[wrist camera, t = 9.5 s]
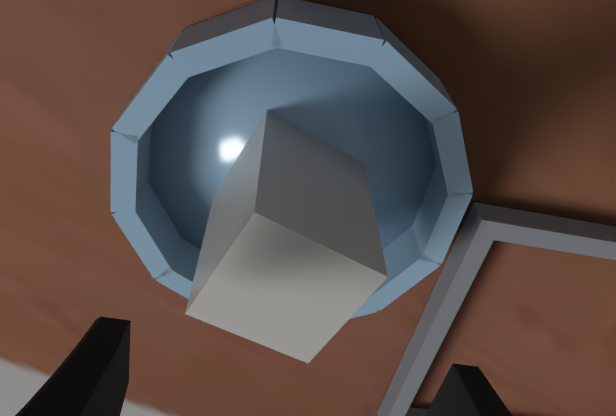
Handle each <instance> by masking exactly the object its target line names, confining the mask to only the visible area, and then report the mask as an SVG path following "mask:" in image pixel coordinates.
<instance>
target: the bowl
mask: <svg viewBox="0 0 616 416" xmlns="http://www.w3.org/2000/svg"><path fill="white" fill-rule="evenodd" d="M267 110H268V111H270V112H272V113H274V114H275V115H277V116H279V117H281V118H283V119H284V120H286V121H288V122H290V123H292V124H293V125H295V126H297V127H299V128H301V129H302V130H304V131H306V132H308V133H310V134H311V135H313V136H315V137H317V138H319V139H320V140H322V141H324V142H326V143H328V144H329V145H331V146H333V147H335V148H337V149H338V150H340V151H342V152H344V153H346V154H348V155H349V156H351V157H353V158H355V159H357V160H358V161H360V162H362V163H364V164H365V166H366V171H367V176H368V181H369V186H370V191H371V196H372V201H373V206H374V211H375V216H376V220H377V225H378V230H379V235H380V240H381V245H382V250H383V255H384V260H385V265H386V270H387V275H388V277H387V278H386V280H385V281H384V282H383V283H382V284H381V285H380V286H379V287H378V288H377V289H376V290H375V291H374V293H373V294H372V295H371V296H370V297H369V298H368V299H367V300H366V301H365V302H364V303H363V304H362V306H361V307H360V308H359V309H358V310H357V311H356V312H355V313H354V314H353V315H352V316H351V317H350V318H354V317H359V316H363V315H367V314H371V313H375V312H378V311H377V309H378V310H382V309H383V308H384V307H386V306H387V305H388V304H390V303H391V302H392V301H394V300H395V299H396V298H398V297H399V296H400V295H402V294H403V293H404V292H406V291H407V290H408V289H410V288H411V287H412V286H414V285H415V284H416V283H418V282H419V281H420V280H422V279H423V278H424V277H426V276H427V275H428V274H430V273H431V272H432V271H434V270H435V269H436V268H438V267H439V266H440V264H439V263H441V264H442V262H443V260H444V258H445V255H446V253H447V251H448V249H449V246H450V244H451V242H452V240H453V238H454V235H455V233H456V231H457V229H458V227H459V224H460V222H461V220H462V218H463V215H464V213H465V211H466V209H467V207H468V204H469V202H470V200H471V198H472V196H473V194H472V192H473V188H472V183H471V177H470V172H469V167H468V161H467V156H466V150H465V145H464V140H463V134H462V129H461V123H460V118H459V112H458V110H457V108H456V106H455V105H454V103H453V101H452V100H451V98H450V96H449V95H448V93H447V91H446V89H445V88H444V86H443V84H442V83H441V81H440V79H439V78H438V77H437V76H436V75H435V74H434V73H433V72H432V71H431V70H430V69H429V68H428V67H427V66H426V65H425V64H424V63H423V62H422V61H421V60H420V59H419V58H418V57H417V56H416V55H415V54H414V53H413V52H412V51H411V50H410V49H409V48H407V47H406V46H405V45H404V44H403V43H402V42H401V41H400V40H399V39H398V38H397V37H396V36H395V35H394V34H393V33H392V32H391V31H390V30H389V29H388V28H387V27H386V26H385V25H384V24H383V23H382V22H381V21H380V20H379V19H378V18H377V17H376V18H374V16H373V15H368V14H364V13H359V12H354V11H350V10H345V9H340V8H336V7H331V6H326V5H322V4H317V3H312V2H308V1H303V0H278V1H277V0H262V1H259V2H256V3H253V4H250V5H247V6H245V7H242V8H239V9H236V10H233V11H230V12H228V13H225V14H222V15H219V16H216V17H213V18H211V19H208V20H205V21H202V22H199V23H196V24H194V25H191V26H188V27H186V28H185V30H184V29H183V30H182V32H181V33H180V34H179V36H178V37H177V38H176V40H175V41H174V42H173V44H172V45H171V46H170V48H169V49H168V50H167V52H166V53H165V54H164V56H163V57H162V58H161V60H160V61H159V62H158V64H157V65H156V66H155V68H154V69H153V70H152V72H151V73H150V74H149V76H148V77H147V78H146V80H145V81H144V82H143V84H142V85H141V86H140V88H139V89H138V90H137V92H136V93H135V94H134V96H133V97H132V99H131V100H130V102H129V103H128V105H127V106H126V108H125V109H124V111H123V112H122V114H121V115H120V117H119V118H118V120H117V121H116V123H115V125H114V126H113V128H112V131H111V212H112V216H113V217H114V219H115V220H116V222H117V223H118V225H119V226H120V228H121V230H122V231H123V233H124V234H125V236H126V237H127V239H128V240H129V242H130V243H131V245H132V246H133V248H134V249H135V251H136V252H137V254H138V255H139V257H140V258H141V260H142V261H143V263H144V265H145V266H146V268H147V269H148V271H149V272H150V274H151V275H152V277H153V278H156V281H158V282H160V283H161V284H163V285H165V286H166V287H168V288H170V289H172V290H173V291H175V292H177V293H179V294H180V295H182V296H184V297H185V298H187V299H189V296H190V292H191V288H192V284H193V279H194V275H195V271H196V267H197V263H198V259H199V255H200V251H201V247H202V242H203V238H204V234H205V230H206V226H207V222H208V218H209V214H210V209H211V205H212V201H213V197H214V195H215V193H216V192H217V190H218V188H219V187H220V185H221V183H222V182H223V180H224V179H225V177H226V175H227V174H228V172H229V170H230V169H231V167H232V166H233V164H234V162H235V161H236V159H237V158H238V156H239V154H240V153H241V151H242V149H243V148H244V146H245V145H246V143H247V141H248V140H249V138H250V136H251V135H252V133H253V132H254V130H255V128H256V127H257V125H258V123H259V122H260V120H261V119H262V117H263V115H264V114H265V112H266V111H267Z"/></svg>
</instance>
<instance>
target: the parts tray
mask: <svg viewBox="0 0 616 416" xmlns="http://www.w3.org/2000/svg"><path fill="white" fill-rule="evenodd" d="M494 240H496V241H503V242H509V243H515V244H521V245H527V246H533V247H539V248H545V249H551V250H557V251H563V252H569V253H575V254H581V255H588V256H594V257H600V258H606V259H612V260H616V226H610V225H604V224H598V223H593V222H587V221H581V220H575V219H569V218H564V217H558V216H552V215H546V214H541V213H535V212H529V211H523V210H517V209H512V208H506V207H500V206H494V205H489V204H483V203H477V202H473V204H472V206H471V208H470V210H469V213H468V215H467V217H466V219H465V221H464V224H463V226H462V228H461V230H460V232H459V234H458V237H457V239H456V241H455V243H454V245H453V248H452V250H451V252H450V254H449V256H448V259H447V261H446V263H445V265H444V267H443V270H442V272H441V274H440V276H439V278H438V281H437V283H436V285H435V287H434V289H433V291H432V294H431V296H430V298H429V300H428V302H427V305H426V307H425V309H424V311H423V313H422V316H421V318H420V320H419V322H418V324H417V327H416V329H415V331H414V333H413V335H412V338H411V340H410V342H409V344H408V346H407V348H406V351H405V353H404V355H403V357H402V359H401V362H400V364H399V366H398V368H397V370H396V373H395V375H394V377H393V379H392V381H391V384H390V386H389V388H388V390H387V392H386V395H385V397H384V399H383V401H382V403H381V405H380V408H379V410H378V412H377V416H425V414H426V412H427V411H428V409H422V408H413V407H410V405H411V403H412V401H413V399H414V397H415V395H416V393H417V391H418V389H419V387H420V385H421V383H422V381H423V379H424V377H425V375H426V373H427V371H428V369H429V367H430V365H431V363H432V361H433V359H434V357H435V355H436V353H437V351H438V349H439V347H440V345H441V343H442V341H443V340H444V338H445V336H446V334H447V332H448V330H449V328H450V326H451V324H452V322H453V320H454V318H455V316H456V314H457V312H458V310H459V308H460V306H461V304H462V302H463V300H464V298H465V296H466V294H467V292H468V290H469V288H470V286H471V284H472V282H473V280H474V278H475V276H476V274H477V272H478V270H479V268H480V266H481V264H482V262H483V260H484V258H485V256H486V255H487V253H488V251H489V249H490V247H491V245H492V243H493V241H494Z"/></svg>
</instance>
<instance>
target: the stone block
mask: <svg viewBox="0 0 616 416" xmlns="http://www.w3.org/2000/svg"><path fill="white" fill-rule="evenodd" d="M387 277H388V275H387V270H386V265H385V260H384V255H383V250H382V245H381V240H380V235H379V230H378V225H377V220H376V216H375V211H374V206H373V201H372V196H371V191H370V186H369V181H368V176H367V171H366V166H365V164H364V163H362V162H360V161H358V160H357V159H355V158H353V157H351V156H349V155H348V154H346V153H344V152H342V151H340V150H338V149H337V148H335V147H333V146H331V145H329V144H328V143H326V142H324V141H322V140H320V139H319V138H317V137H315V136H313V135H311V134H310V133H308V132H306V131H304V130H302V129H301V128H299V127H297V126H295V125H293V124H292V123H290V122H288V121H286V120H284V119H283V118H281V117H279V116H277V115H275V114H274V113H272V112H270V111H268V110H267V111H266V112H265V114H264V115H263V117H262V119H261V120H260V122H259V123H258V125H257V127H256V128H255V130H254V132H253V133H252V135H251V136H250V138H249V140H248V141H247V143H246V145H245V146H244V148H243V149H242V151H241V153H240V154H239V156H238V158H237V159H236V161H235V162H234V164H233V166H232V167H231V169H230V170H229V172H228V174H227V175H226V177H225V179H224V180H223V182H222V183H221V185H220V187H219V188H218V190H217V192H216V193H215V195H214V197H213V201H212V205H211V209H210V214H209V218H208V222H207V226H206V230H205V234H204V238H203V242H202V247H201V251H200V255H199V259H198V263H197V267H196V271H195V275H194V279H193V284H192V288H191V292H190V296H189V300H188V304H187V308H186V312H185V314H186V315H189V316H191V317H194V318H196V319H199V320H201V321H204V322H206V323H209V324H211V325H214V326H216V327H219V328H221V329H224V330H226V331H229V332H231V333H234V334H236V335H239V336H241V337H244V338H246V339H249V340H251V341H254V342H256V343H259V344H261V345H264V346H266V347H269V348H271V349H274V350H276V351H279V352H281V353H284V354H286V355H289V356H291V357H294V358H296V359H299V360H301V361H304V362H306V363H309V362H310V361H311V360H312V359H313V358H314V356H315V355H316V354H317V353H318V352H319V351H320V350H321V349H322V348H323V347H324V346H325V345H326V343H327V342H328V341H329V340H330V339H331V338H332V337H333V336H334V335H335V334H336V333H337V332H338V330H339V329H340V328H341V327H342V326H343V325H344V324H345V323H346V322H347V321H348V320H349V319H350V317H351V316H352V315H353V314H354V313H355V312H356V311H357V310H358V309H359V308H360V307H361V306H362V304H363V303H364V302H365V301H366V300H367V299H368V298H369V297H370V296H371V295H372V294H373V293H374V291H375V290H376V289H377V288H378V287H379V286H380V285H381V284H382V283H383V282H384V281H385V280H386V278H387Z"/></svg>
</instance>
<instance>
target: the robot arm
mask: <svg viewBox="0 0 616 416" xmlns="http://www.w3.org/2000/svg"><path fill="white" fill-rule="evenodd" d="M129 353H130V321H129V320H121V319H114V318H106V317H100V318H98V319H96V320H95V321H94V323H93V324H92V326H91V327H90V328H89V330H88V331H87V333H86V334H85V335H84V337H83V338H82V339H81V341H80V342H79V343H78V344H77V346H76V347H75V348H74V349H73V351H72V352H71V353H70V354H69V356H68V357H67V358H66V359H65V361H64V362H63V363H62V364H61V365H60V367H59V368H58V369H57V370H56V371H55V372H54V374H53V375H52V376H51V377H50V378H49V379H48V380H47V382H46V383H45V384H44V385H43V386H42V387H41V388H40V389H39V391H38V392H37V393H36V394H35V395H34V396H33V397H32V398H31V400H30V401H29V402H28V403H27V404H26V405H25V406H24V407H23V408H22V409H21V410H20V411H19V412H18V413H17V414H16V415H15V416H120V413H121V409H122V405H123V402H124V398H125V394H126V390H127V386H128V383H129ZM425 416H512V415H511V414H510V412H509V411H508V409H507V408H506V406H505V405H504V403H503V402H502V401H501V399H500V398H499V396H498V395H497V393H496V392H495V390H494V389H493V387H492V386H491V385H490V383H489V382H488V380H487V379H486V377H485V376H484V374H483V373H482V372H481V370H480V369H479V367H475V366H468V365H460V364H452V366H451V368H450V370H449V372H448V373H447V375H446V377H445V379H444V381H443V383H442V385H441V386H440V388H439V390H438V392H437V394H436V396H435V398H434V399H433V401H432V403H431V405H430V407H429V409H428V411H427V412H426V414H425Z"/></svg>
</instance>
